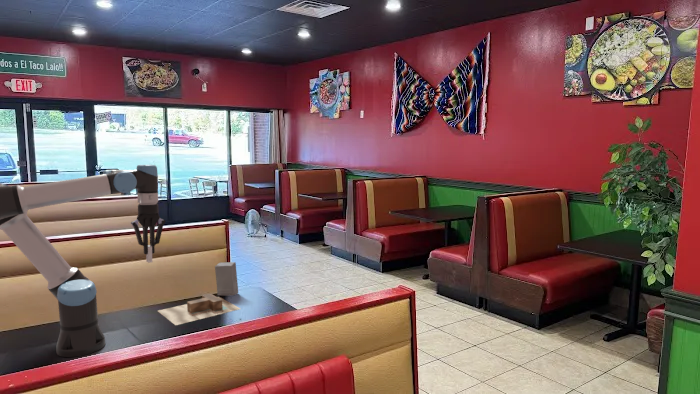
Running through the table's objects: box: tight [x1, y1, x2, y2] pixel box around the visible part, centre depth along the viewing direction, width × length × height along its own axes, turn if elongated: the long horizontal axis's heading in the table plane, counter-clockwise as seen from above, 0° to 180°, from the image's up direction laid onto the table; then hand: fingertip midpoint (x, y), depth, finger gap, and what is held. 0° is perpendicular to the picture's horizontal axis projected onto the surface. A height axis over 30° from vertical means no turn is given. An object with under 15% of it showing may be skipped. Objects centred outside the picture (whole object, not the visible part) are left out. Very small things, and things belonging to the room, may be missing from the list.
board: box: [157, 296, 242, 326], centre depth 203 cm, size 28×22×1 cm
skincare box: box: [214, 261, 239, 297], centre depth 224 cm, size 8×7×16 cm
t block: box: [186, 293, 223, 313], centre depth 203 cm, size 12×12×4 cm
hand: (149, 261), depth 190 cm, fingers closed
